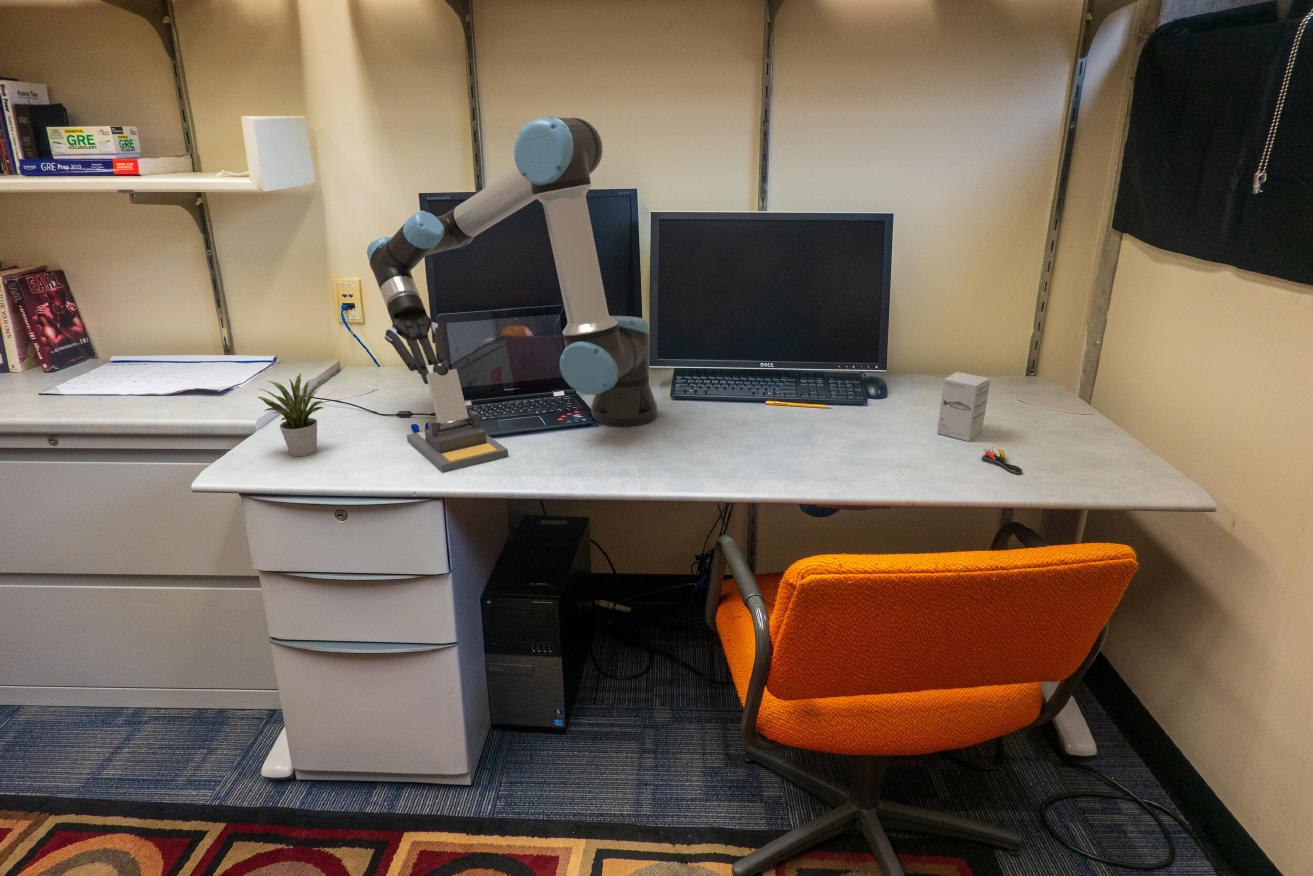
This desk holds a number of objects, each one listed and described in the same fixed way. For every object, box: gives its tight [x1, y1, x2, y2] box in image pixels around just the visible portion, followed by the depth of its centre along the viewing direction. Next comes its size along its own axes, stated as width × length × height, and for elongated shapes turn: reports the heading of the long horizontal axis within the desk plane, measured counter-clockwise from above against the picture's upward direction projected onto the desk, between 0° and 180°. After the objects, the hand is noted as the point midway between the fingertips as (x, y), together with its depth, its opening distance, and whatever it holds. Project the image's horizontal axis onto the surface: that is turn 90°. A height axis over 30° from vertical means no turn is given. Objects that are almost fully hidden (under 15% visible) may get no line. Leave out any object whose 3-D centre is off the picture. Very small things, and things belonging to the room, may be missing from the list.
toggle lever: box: [426, 361, 472, 432], centre depth 168 cm, size 3×7×14 cm, turn 124°
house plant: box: [256, 372, 333, 457], centre depth 167 cm, size 14×14×16 cm
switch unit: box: [406, 410, 509, 473], centre depth 169 cm, size 20×14×7 cm
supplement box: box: [936, 371, 992, 442], centre depth 175 cm, size 7×7×13 cm
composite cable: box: [980, 446, 1023, 476], centre depth 160 cm, size 10×5×2 cm, turn 8°
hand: (439, 394), depth 172 cm, fingers closed
